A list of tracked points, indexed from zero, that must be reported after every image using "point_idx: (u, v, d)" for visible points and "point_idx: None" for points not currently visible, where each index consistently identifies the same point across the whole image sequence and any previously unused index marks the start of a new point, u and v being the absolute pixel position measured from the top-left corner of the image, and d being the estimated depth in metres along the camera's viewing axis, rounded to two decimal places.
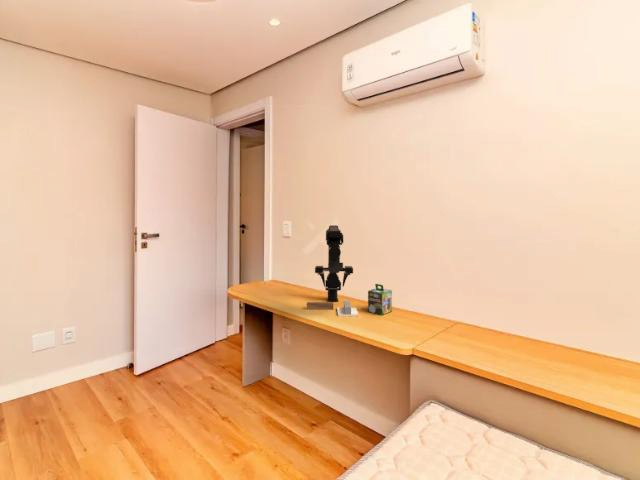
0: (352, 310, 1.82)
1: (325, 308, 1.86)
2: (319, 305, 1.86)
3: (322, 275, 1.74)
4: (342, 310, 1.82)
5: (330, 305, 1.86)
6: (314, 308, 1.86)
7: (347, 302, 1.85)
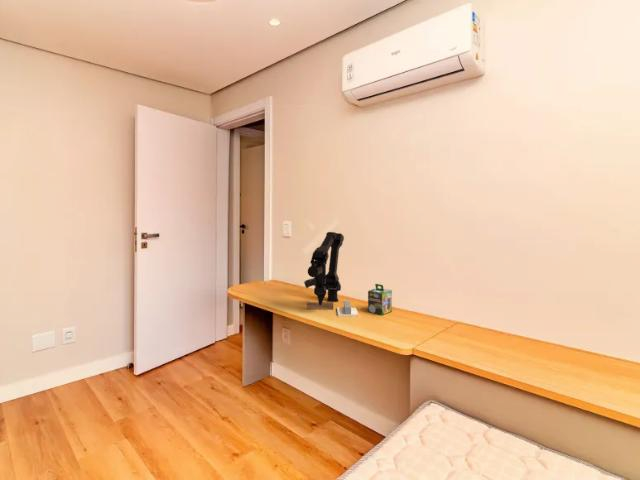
0: (352, 310, 1.82)
1: (325, 308, 1.86)
2: (319, 305, 1.86)
3: None
4: (342, 310, 1.82)
5: (330, 305, 1.86)
6: (314, 308, 1.86)
7: (347, 302, 1.85)
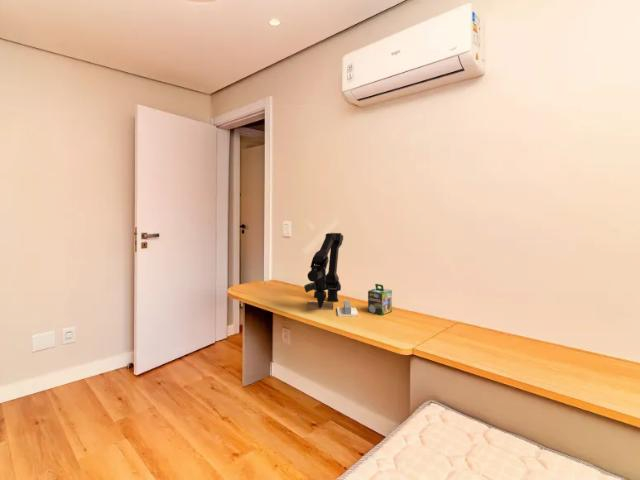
0: (352, 310, 1.82)
1: (325, 308, 1.86)
2: None
3: None
4: (342, 310, 1.82)
5: (330, 304, 1.86)
6: (314, 308, 1.86)
7: (347, 302, 1.85)
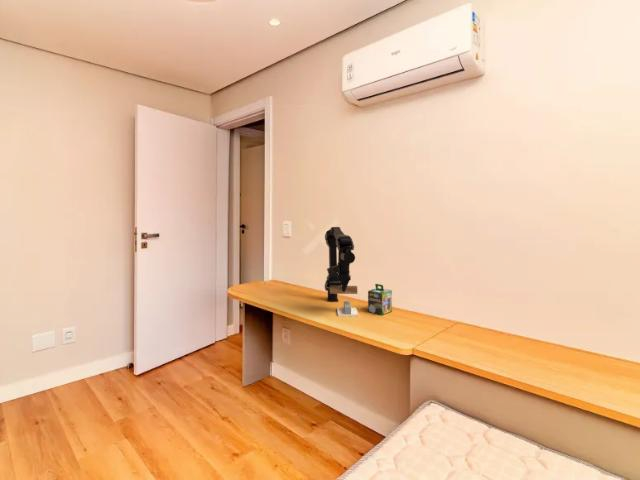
0: (352, 310, 1.82)
1: (349, 292, 1.79)
2: None
3: None
4: (342, 310, 1.82)
5: (354, 288, 1.79)
6: (337, 291, 1.80)
7: (347, 302, 1.85)
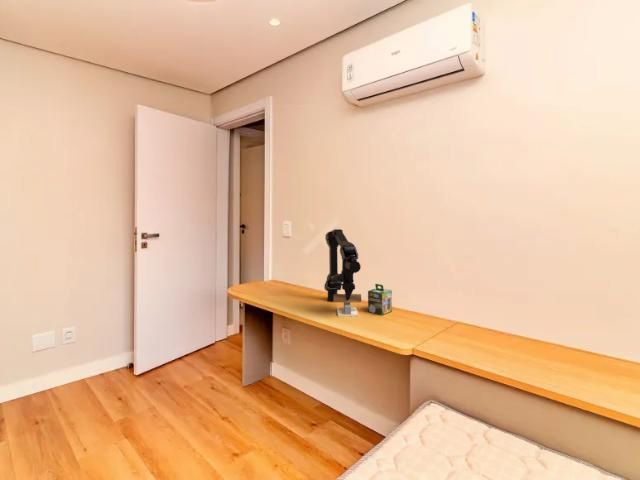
0: (352, 310, 1.82)
1: (353, 300, 1.79)
2: None
3: None
4: (342, 310, 1.82)
5: (358, 296, 1.79)
6: (341, 300, 1.79)
7: (347, 302, 1.85)
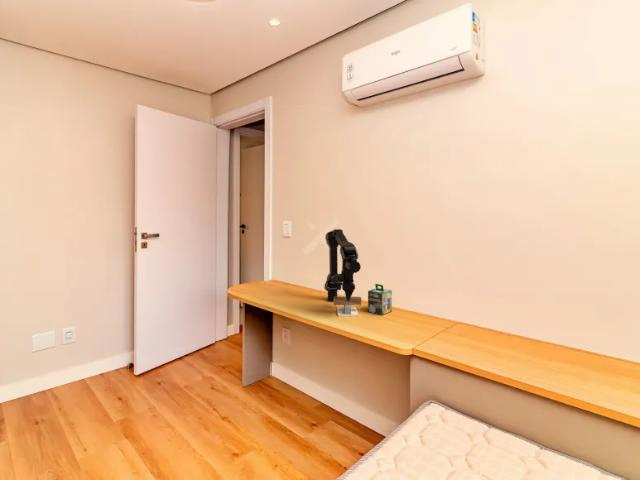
0: (352, 310, 1.82)
1: (353, 303, 1.79)
2: (346, 300, 1.79)
3: None
4: (342, 310, 1.82)
5: (358, 299, 1.79)
6: (341, 303, 1.79)
7: None
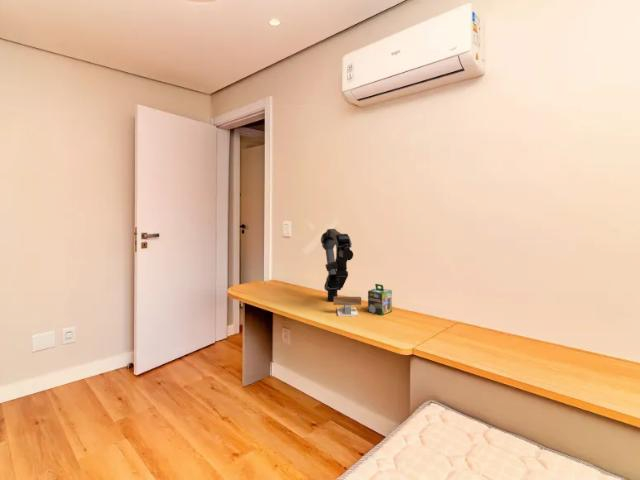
0: (352, 310, 1.82)
1: (353, 303, 1.79)
2: (346, 300, 1.79)
3: None
4: (342, 310, 1.82)
5: (358, 299, 1.79)
6: (341, 303, 1.79)
7: None
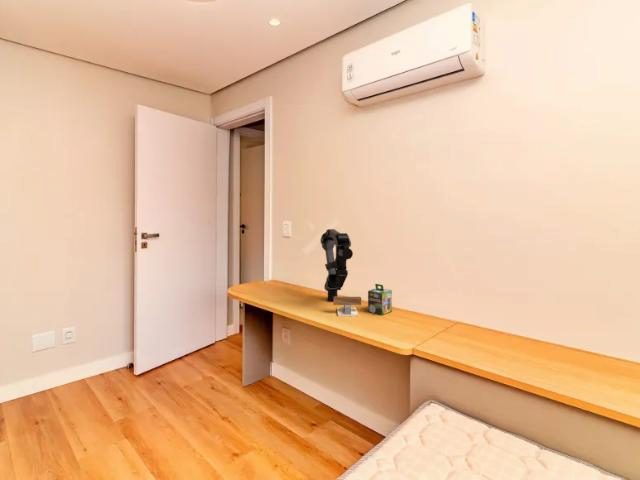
0: (352, 310, 1.82)
1: (353, 303, 1.79)
2: (346, 300, 1.79)
3: (336, 272, 1.95)
4: (342, 310, 1.82)
5: (358, 299, 1.79)
6: (341, 303, 1.79)
7: None
